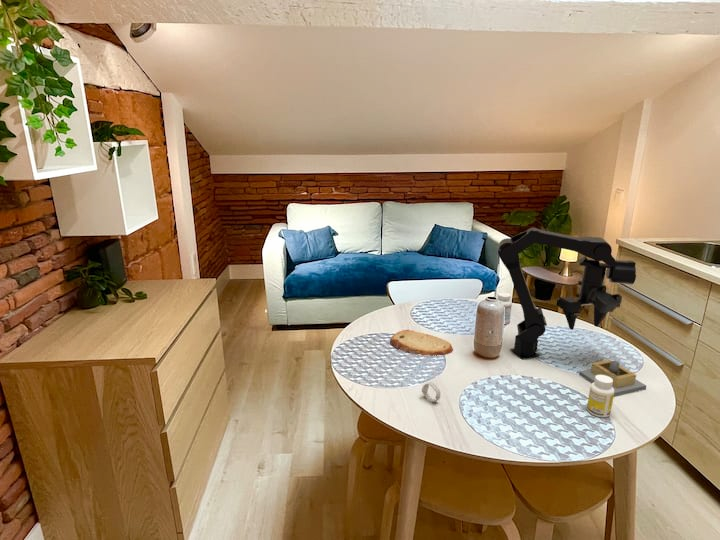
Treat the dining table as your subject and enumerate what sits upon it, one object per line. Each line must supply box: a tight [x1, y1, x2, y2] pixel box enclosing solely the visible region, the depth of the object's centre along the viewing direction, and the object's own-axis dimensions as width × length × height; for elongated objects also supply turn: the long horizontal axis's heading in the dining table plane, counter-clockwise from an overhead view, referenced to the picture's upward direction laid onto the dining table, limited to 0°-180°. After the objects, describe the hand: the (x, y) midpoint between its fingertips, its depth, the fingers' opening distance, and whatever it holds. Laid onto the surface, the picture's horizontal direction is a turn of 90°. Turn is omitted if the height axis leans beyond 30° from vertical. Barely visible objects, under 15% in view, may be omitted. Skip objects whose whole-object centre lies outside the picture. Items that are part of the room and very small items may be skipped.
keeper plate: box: [578, 360, 647, 397], centre depth 125 cm, size 12×12×6 cm
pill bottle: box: [495, 292, 513, 325], centre depth 165 cm, size 6×6×11 cm
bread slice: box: [389, 329, 454, 357], centre depth 148 cm, size 18×18×4 cm
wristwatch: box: [421, 381, 441, 403], centre depth 117 cm, size 3×5×5 cm, turn 41°
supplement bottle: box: [586, 375, 615, 418], centre depth 111 cm, size 5×5×10 cm
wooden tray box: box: [590, 359, 637, 388], centre depth 125 cm, size 7×9×3 cm
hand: (583, 327), depth 134 cm, fingers open, 9 cm apart
